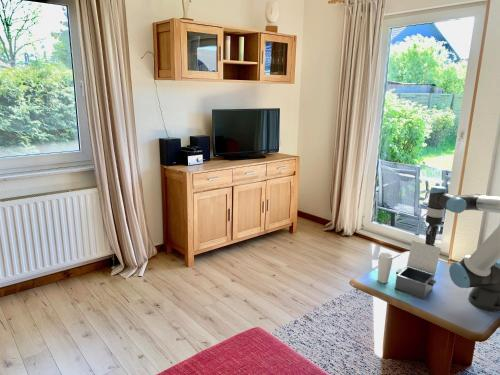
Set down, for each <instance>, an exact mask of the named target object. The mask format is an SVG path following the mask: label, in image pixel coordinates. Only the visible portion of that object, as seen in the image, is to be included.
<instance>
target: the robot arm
mask: <svg viewBox="0 0 500 375" xmlns="http://www.w3.org/2000/svg"><path fill="white" fill-rule="evenodd" d="M425 209H426V216H425V222H426V223H427V224H428V225H427V229H426V230H425V243H424V244H428V245H431V246H435V242H436V238H437V234H438V230H439V225H441V224H442V222H443V217H444V210H447V211H449V212H452V213H454V214H461V213H462V212H465V211H479V212H481V211H482V212H487V213H488V212H489V213H495V214H500V196H497V195H496V196H493V195H484V194H479V193H476V194H459V195H458V194H457V195H454V194H450V193H449V192H448V189H447V187H445V186H442V185H433V186H431V188H430V191H429V196H428V203H427V207H426V208H425ZM435 247H436V246H435ZM448 270H449V271H448V272H449V277H450V280H451V281H452V283H453V284H454V285H455V286H456V287H458V288H460V289H470V288H472V289H471V290H470V292H469V293H468V298H467V299H468V301H469V302H470V303H471V304H472V305H474V306H475V307H477V308H478V309H479V308H480V309H482V310H485V311H488V312H494V311H497V313H498V311H500V224H499V225H498V226H497V227H496V228H495V229H494V230H493V231H492V232H491V233H490V235H488V237H487V238H486V239H485V240H484V241H483V242H482V244H480V245H479V246H478V248H477V249H476V250H475V251H474V252H473V253H471V254H470V253H469V254H466V255H464V257H463V258H462V259H461V260H460V261H455V262H452V263H451V264H450V266H449V269H448Z"/></svg>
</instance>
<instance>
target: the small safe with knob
mask: <svg viewBox="0 0 500 375" xmlns="http://www.w3.org/2000/svg"><path fill="white" fill-rule="evenodd" d="M395 274H396V278H395V286H394V290H395V291H398V292H401V293H404V294H406V295H409V296H412V297H414V298H418V299H420V300H423V301H424V300H425V299H426V298H427V296H428V295H429V294H431V293H432V291H433V289H434V286H435V284H436V282H437V280H435V277H436V276H435V275H436V274H435V275H434V274H431V273H427V272H424V271H421V270H418V269H415V268H412V267H409V266H405V267H404V268H403V269H402V268H399V269H398V270H397V271H396V272H395Z"/></svg>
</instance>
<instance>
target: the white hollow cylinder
mask: <svg viewBox="0 0 500 375" xmlns="http://www.w3.org/2000/svg"><path fill="white" fill-rule="evenodd" d="M393 258H394V256H393V254H391V253H389V252H380V253H379V255H378V259H377V260H378V261H377V262H378V263H377V264H378V265H377V268H378V269H377V281H378V282H379V283H381V284H387V283H388V282H389V278H390V274H391V270H392V266H393Z"/></svg>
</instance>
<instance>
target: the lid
mask: <svg viewBox="0 0 500 375" xmlns="http://www.w3.org/2000/svg"><path fill="white" fill-rule="evenodd" d="M409 248H410V249H409V255H408V259H407V264H406V267H411V268H414V269H417V270H420V271H423V272H426V273H429V274H433V275H437V274H436V273H437V268H438V264H439V259H440V254H441V250H442V249H441V247H438V246H431V245H428V244H425V243H424V242H420V241H416V240H411V243H410V247H409Z"/></svg>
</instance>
